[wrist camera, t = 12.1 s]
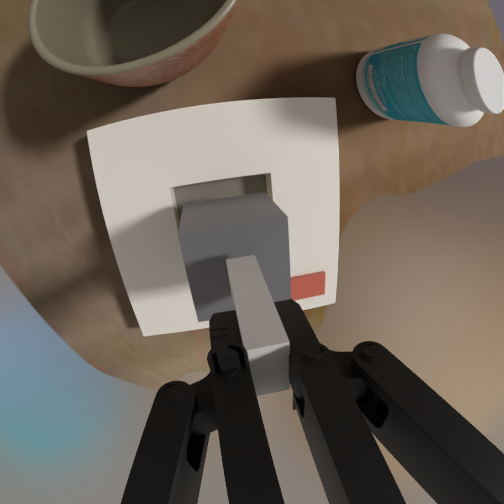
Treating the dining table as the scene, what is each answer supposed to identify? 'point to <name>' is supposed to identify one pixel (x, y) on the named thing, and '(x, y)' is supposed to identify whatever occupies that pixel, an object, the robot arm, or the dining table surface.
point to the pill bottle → (431, 81)
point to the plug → (233, 247)
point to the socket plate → (217, 193)
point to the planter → (127, 37)
